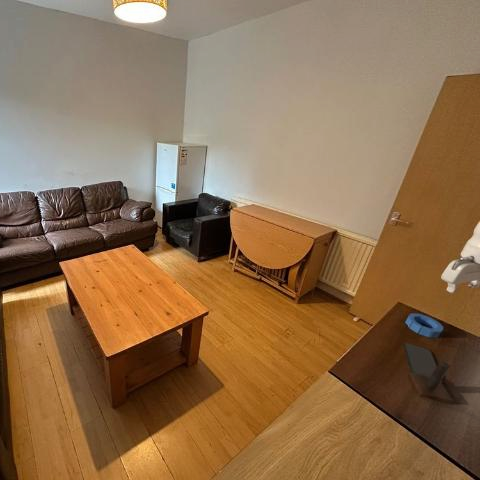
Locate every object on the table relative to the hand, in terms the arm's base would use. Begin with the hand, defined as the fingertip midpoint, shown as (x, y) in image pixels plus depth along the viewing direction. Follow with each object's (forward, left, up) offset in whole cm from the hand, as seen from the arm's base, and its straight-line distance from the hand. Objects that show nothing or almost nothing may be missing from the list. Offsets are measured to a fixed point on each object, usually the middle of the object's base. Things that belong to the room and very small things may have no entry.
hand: (461, 289), depth 88 cm
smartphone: (+14, +21, -18) cm, 31 cm away
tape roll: (+6, +3, -17) cm, 19 cm away
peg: (+17, +32, -17) cm, 40 cm away
